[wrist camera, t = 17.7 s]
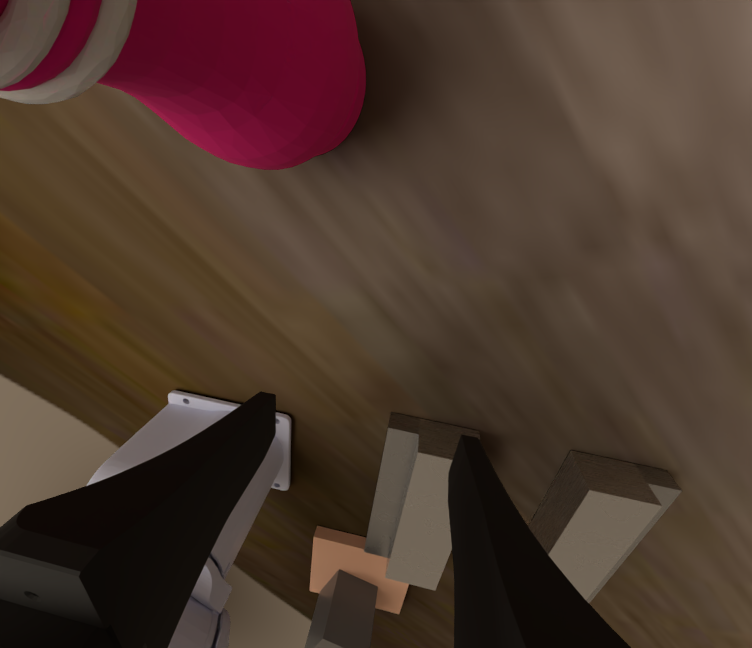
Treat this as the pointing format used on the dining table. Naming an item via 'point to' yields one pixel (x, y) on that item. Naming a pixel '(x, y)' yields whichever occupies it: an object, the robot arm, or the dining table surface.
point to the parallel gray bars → (549, 525)
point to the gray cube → (343, 613)
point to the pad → (353, 566)
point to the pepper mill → (199, 67)
